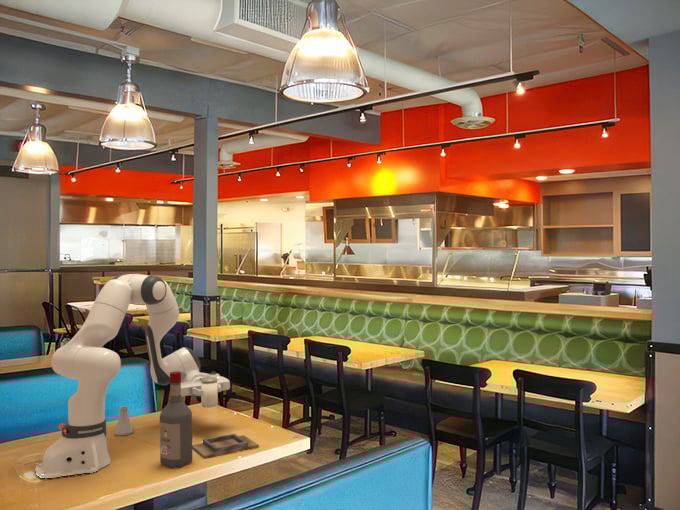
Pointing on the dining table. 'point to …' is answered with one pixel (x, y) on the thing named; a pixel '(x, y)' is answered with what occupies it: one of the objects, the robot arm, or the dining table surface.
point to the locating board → (223, 445)
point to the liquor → (175, 428)
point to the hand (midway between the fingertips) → (210, 391)
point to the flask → (123, 423)
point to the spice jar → (209, 392)
